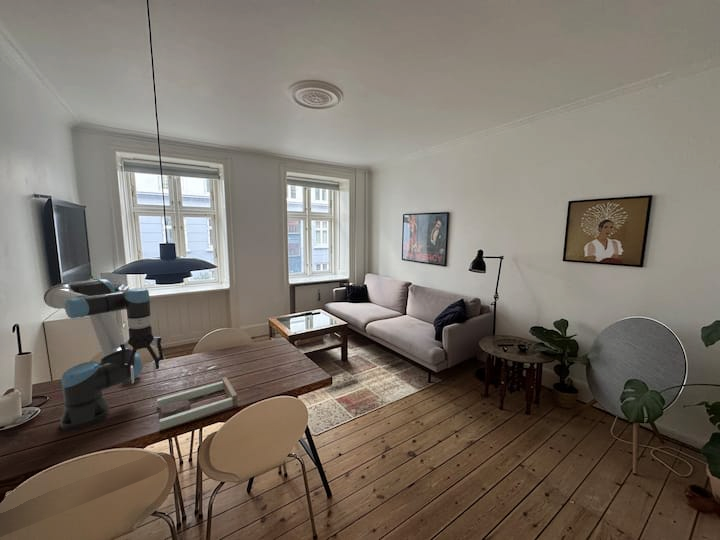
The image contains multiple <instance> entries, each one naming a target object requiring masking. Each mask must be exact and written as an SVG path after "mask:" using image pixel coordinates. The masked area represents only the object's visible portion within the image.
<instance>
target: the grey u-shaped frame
mask: <svg viewBox="0 0 720 540" xmlns="http://www.w3.org/2000/svg"><path fill="white" fill-rule="evenodd" d="M221 380H222V381H218V382H214V383H210V384H207V385H203V386H201V387H200V386H199V387H197V388H192V389H188V390H185V391H181V392H178V393H174V394H169V395H167V396H164V397H159V398H157V399H156V400H157V408H158V409H160V406H163V405H167V404H170V403H175V402H180V401H186V400H188V401H189V400H191V399H194V398H195V399H196V398H198V397H202V396H204V395H205V396H206V395H208V394H212V393H215V392H218V391H222V390H224V392H225V394H226V396H227V398H225V399H224V398H223V399H221V400H217V401H214V402H210V403H208V404H204V405H202V406H198V407H195V408H191V410H188V411H185V412H182V413H179V414H175V415H172V416H169V417H166V418H162V419H160V418H159V429H160V430H165V429H168V428H170V427H174V426H176V425H179V424H182V423H185V422H188V421H191V420H194V419H197V418H201V417H203V416H207V415H210V414H212V413H216V412H219V411H222V410H225V409H228V408H231V407H234V406H237V405H238V395H237V393H236V391H235V389H234V387H233V386H232V384H231V383H230V381H229V378H228V377H226V376H225V377H223V378H221Z"/></svg>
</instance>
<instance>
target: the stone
mask: <svg viewBox="0 0 720 540" xmlns="http://www.w3.org/2000/svg"><path fill="white" fill-rule="evenodd" d="M191 409H192V407H191V402H190V400H189V399H188V400H184V401H180V402H175V403H170V404H167V405H163V406H160V408H159V410H158V416H159V420H160V419H162V418H166V417H169V416H172V415H175V414H179V413H182V412H185V411H188V410H191Z"/></svg>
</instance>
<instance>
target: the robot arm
mask: <svg viewBox="0 0 720 540" xmlns="http://www.w3.org/2000/svg"><path fill="white" fill-rule="evenodd" d="M150 297H151V296H150V293H149V290H148V288H143V287H137V288H131V289H120V290H117V291H116V290H115V287H114V285H113V284H112V282H110V281H109V280H108V279H106V278H99V279H98V278H94V279H88V280H86V279H85V280H77V281H66V282H61V283H58V284H55V285H54V286H51V287H50V288H48V289H47V290H46V291H45V292H44V294H43V302H44V303H45V304H46V305H47V306H49V307H50V308H53V309H60V310H61V309H64V310H65V313H66V315H67V316H68V318H69V319H76V318H84V317H89V318H90V321H91V324H92V327H93V331H94V332H95V336H96V339H97V341H98V345H99V347H100V350H101V353H102V357H101V358H100V362H99V361H95V360H93V361H86V362H82V363H79V364H76V365H74V366H72V367H71V368H68V369H67V370H66V371H65V372H63V374H62V376H61V387H62V394H63V402H64V408H63V411H62V415H61V418H60V421H59V422H60V428H61V429H63V430H65V431H72V430H73V431H74V430H79V429H83V428H86V427H89V426H92V425H94V424H96V423H98V422H101V421H102V420H103V419H105V418H106V417H107V416H108V415H109V413H110V408H109V404H108V403H107V402H106V400H105V398H104V396H103V391H104V390H107V389H109V388H113V387H114V386H115V387H116V386H117V385H120V384H123V383H127V382H130V381H131V384H134V383H135V379H137V378H138V377H139V376H140V375H141V374H142V373H141V372H142V370H141V368H142V369H143V363H142V357H141V355H140V354H139V353H138V352H137V350H141V349H147V350H148V352H149V354H150V355H151V357H152V358H153V360H152V367H153V377H154V379H155V378H156V379H157V370H159V368H160V361H162V360H164V354H163V350H162V349H163V348H162V345H161V342H162V337H161V336H154V335H153V330H152V329H153V328H152V325H151V324H152V316H151V304H150V303H151V301H150V299H151V298H150ZM124 310H126V314H127V315H126V316H127V325H128V326H127V327H128V340H127V341H125V340H124V338H123V334H122V333H121V330H120V328H119V324H118V322H117V320H116V319H117V318H116V317H115V314H114V312H117V311H124ZM153 341H154V342H155V343H156V346H157V351H158V355H159V356H157V354H156V352H155V351H154V349H153V347H152V345H151V344H152V343H153ZM128 345H130V346H131V347H132V348H130V347H129V348H128ZM136 377H137V378H136Z"/></svg>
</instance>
